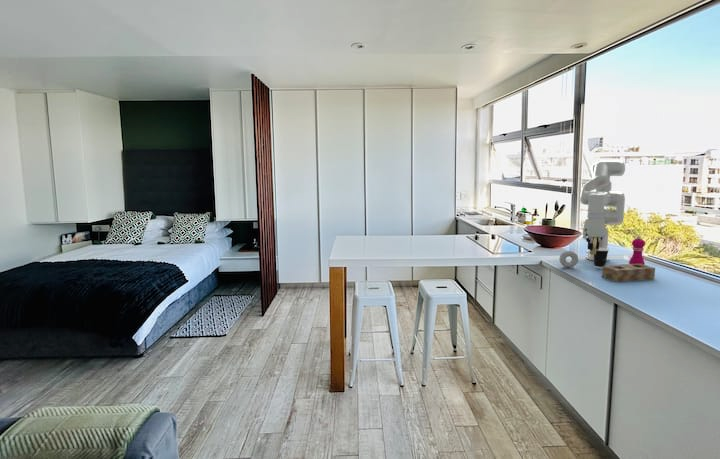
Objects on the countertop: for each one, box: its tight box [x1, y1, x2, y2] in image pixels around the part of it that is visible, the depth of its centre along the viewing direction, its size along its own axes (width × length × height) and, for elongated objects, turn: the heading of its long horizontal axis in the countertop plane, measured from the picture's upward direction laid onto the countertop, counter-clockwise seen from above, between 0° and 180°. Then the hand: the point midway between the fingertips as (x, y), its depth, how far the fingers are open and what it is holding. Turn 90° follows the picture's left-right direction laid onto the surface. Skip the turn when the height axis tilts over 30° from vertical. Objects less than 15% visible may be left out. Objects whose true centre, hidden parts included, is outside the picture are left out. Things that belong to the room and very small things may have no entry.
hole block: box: [601, 263, 656, 283], centre depth 218 cm, size 22×10×6 cm, turn 99°
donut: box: [559, 250, 579, 268], centre depth 241 cm, size 10×4×10 cm, turn 76°
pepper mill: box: [628, 235, 646, 265], centre depth 229 cm, size 7×7×20 cm
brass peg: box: [590, 237, 597, 255], centre depth 227 cm, size 3×3×10 cm
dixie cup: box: [593, 247, 609, 270], centre depth 240 cm, size 8×8×11 cm
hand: (593, 249), depth 227 cm, fingers closed on brass peg, 3 cm apart
